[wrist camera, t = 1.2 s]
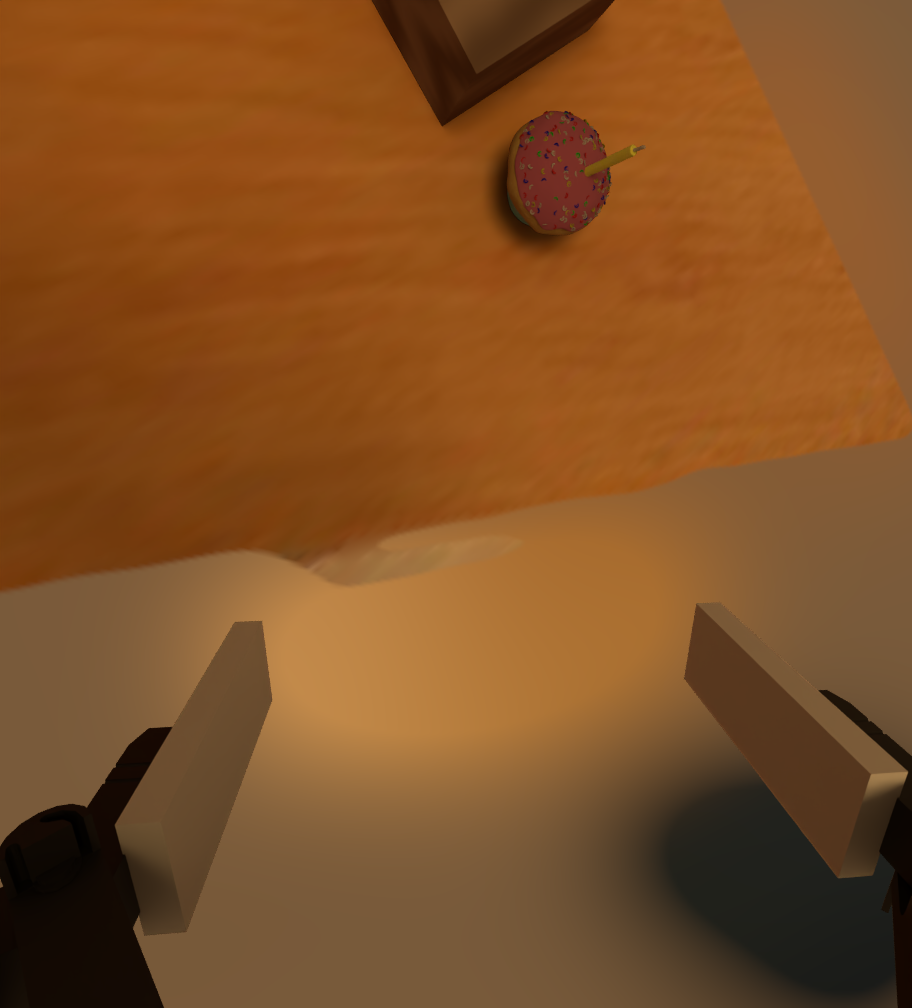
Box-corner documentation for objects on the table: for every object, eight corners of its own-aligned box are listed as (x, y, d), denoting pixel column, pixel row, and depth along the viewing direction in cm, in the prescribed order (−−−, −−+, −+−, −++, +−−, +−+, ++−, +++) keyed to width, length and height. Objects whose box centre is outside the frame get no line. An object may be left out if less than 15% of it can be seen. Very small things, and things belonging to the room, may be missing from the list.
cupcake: (587, 175, 47) (691, 102, 36) (555, 268, 47) (648, 225, 36) (504, 120, 43) (590, 20, 32) (470, 221, 44) (544, 157, 33)
